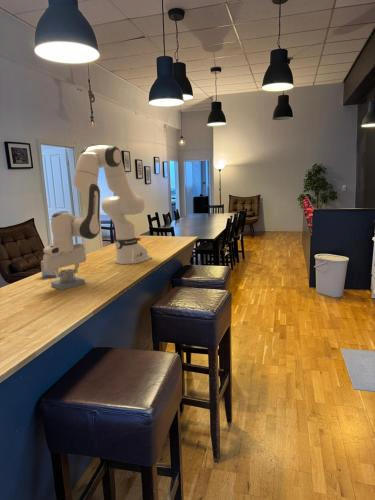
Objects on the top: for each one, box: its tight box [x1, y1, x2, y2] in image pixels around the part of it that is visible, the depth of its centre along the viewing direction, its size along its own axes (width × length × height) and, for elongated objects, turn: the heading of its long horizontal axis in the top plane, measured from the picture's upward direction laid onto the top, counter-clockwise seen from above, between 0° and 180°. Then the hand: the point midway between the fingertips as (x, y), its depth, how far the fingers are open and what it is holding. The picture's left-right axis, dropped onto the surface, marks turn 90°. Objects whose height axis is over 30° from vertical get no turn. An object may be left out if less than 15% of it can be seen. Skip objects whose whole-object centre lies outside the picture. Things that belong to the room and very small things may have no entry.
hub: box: [59, 268, 76, 283], centre depth 167 cm, size 6×6×5 cm
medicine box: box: [40, 260, 60, 279], centre depth 183 cm, size 8×4×9 cm, turn 105°
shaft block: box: [50, 268, 86, 291], centre depth 167 cm, size 12×10×8 cm
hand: (67, 274), depth 166 cm, fingers open, 7 cm apart
